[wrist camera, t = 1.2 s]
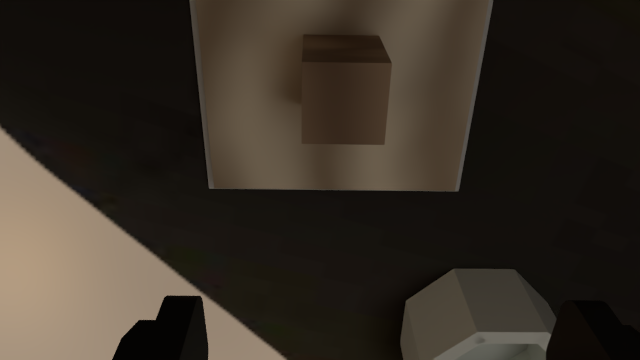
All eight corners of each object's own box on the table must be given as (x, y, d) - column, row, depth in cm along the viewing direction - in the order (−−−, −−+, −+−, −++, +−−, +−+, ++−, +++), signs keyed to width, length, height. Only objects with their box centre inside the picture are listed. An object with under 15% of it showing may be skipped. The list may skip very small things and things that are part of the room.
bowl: (557, 269, 36) (598, 332, 31) (524, 369, 41) (554, 438, 36) (410, 268, 36) (426, 331, 31) (396, 369, 41) (408, 438, 36)
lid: (497, -80, 25) (544, -73, 20) (451, 184, 32) (477, 238, 27) (190, -87, 24) (158, -82, 19) (216, 181, 32) (197, 235, 27)
